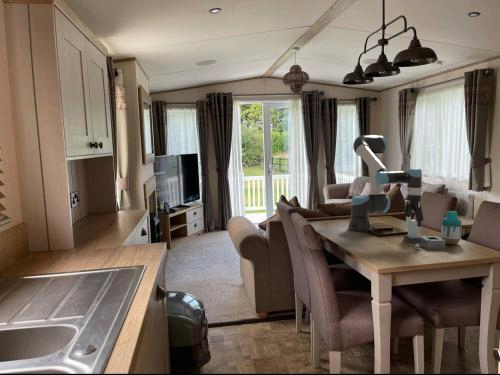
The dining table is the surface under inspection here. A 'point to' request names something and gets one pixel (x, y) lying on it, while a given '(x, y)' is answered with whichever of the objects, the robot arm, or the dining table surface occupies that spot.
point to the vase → (451, 228)
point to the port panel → (432, 242)
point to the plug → (412, 229)
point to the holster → (411, 239)
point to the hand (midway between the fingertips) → (413, 229)
